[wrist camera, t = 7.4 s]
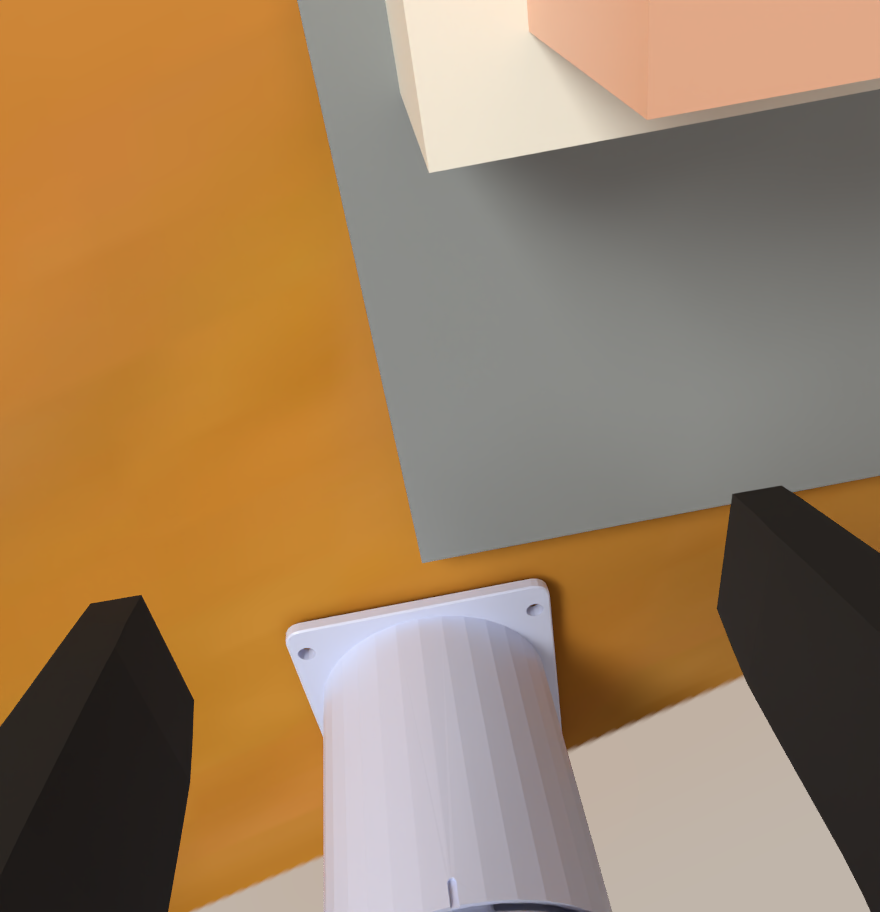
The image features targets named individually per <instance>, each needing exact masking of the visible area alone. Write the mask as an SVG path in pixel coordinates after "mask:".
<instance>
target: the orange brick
mask: <svg viewBox="0 0 880 912" xmlns="http://www.w3.org/2000/svg"><path fill="white" fill-rule="evenodd" d="M527 10H528V26H529V32H530V33H532V34H533V35H534V36H536V37H537V38H538V39H540V40H541V41H542V42H544V43H545V44H546V45H548V46H549V47H550V48H552V49H553V50H554V51H556V52H557V53H558V54H560V55H561V56H562V57H564V58H565V59H566V60H568V61H569V62H570V63H572V64H573V65H574V66H576V67H577V68H578V69H580V70H581V71H582V72H584V73H585V74H586V75H588V76H589V77H590V78H592V79H593V80H594V81H596V82H597V83H598V84H600V85H601V86H602V87H604V88H605V89H606V90H608V91H609V92H610V93H612V94H613V95H614V96H616V97H617V98H618V99H620V100H621V101H622V102H624V103H625V104H626V105H628V106H629V107H631V108H632V109H633V110H635V111H636V112H637V113H639V114H640V115H641V116H643V117H644V118H645V119H647V120H650V119H655V118H661V117H666V116H672V115H677V114H683V113H688V112H694V111H700V110H705V109H711V108H716V107H722V106H727V105H733V104H738V103H744V102H749V101H755V100H760V99H766V98H771V97H777V96H783V95H788V94H794V93H799V92H805V91H810V90H816V89H821V88H827V87H832V86H838V85H843V84H849V83H854V82H860V81H866V80H871V79H877V78H880V0H527Z"/></svg>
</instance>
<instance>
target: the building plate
mask: <svg viewBox="0 0 880 912" xmlns="http://www.w3.org/2000/svg"><path fill="white" fill-rule="evenodd" d="M297 1H298V6H299V10H300V15H301V19H302V24H303V28H304V33H305V37H306V42H307V46H308V51H309V55H310V60H311V64H312V69H313V73H314V78H315V82H316V87H317V91H318V96H319V100H320V105H321V109H322V114H323V118H324V123H325V127H326V132H327V136H328V141H329V145H330V150H331V154H332V159H333V163H334V168H335V172H336V177H337V181H338V186H339V190H340V195H341V199H342V204H343V208H344V213H345V217H346V222H347V226H348V231H349V235H350V240H351V244H352V249H353V253H354V258H355V262H356V267H357V271H358V276H359V280H360V285H361V289H362V294H363V298H364V303H365V307H366V312H367V316H368V321H369V325H370V330H371V334H372V339H373V343H374V348H375V352H376V357H377V361H378V366H379V370H380V375H381V379H382V384H383V388H384V393H385V397H386V402H387V406H388V411H389V415H390V420H391V424H392V429H393V433H394V438H395V442H396V447H397V451H398V456H399V460H400V465H401V469H402V474H403V478H404V483H405V487H406V492H407V496H408V501H409V505H410V510H411V514H412V519H413V523H414V528H415V532H416V537H417V541H418V546H419V550H420V555H421V559H422V563H425V562H430V561H436V560H441V559H446V558H451V557H456V556H462V555H467V554H472V553H477V552H483V551H488V550H493V549H498V548H504V547H509V546H514V545H519V544H524V543H530V542H535V541H540V540H545V539H551V538H556V537H561V536H566V535H571V534H577V533H582V532H587V531H592V530H598V529H603V528H608V527H613V526H619V525H624V524H629V523H634V522H639V521H645V520H650V519H655V518H660V517H666V516H671V515H676V514H681V513H687V512H692V511H697V510H702V509H707V508H713V507H718V506H723V505H728V504H731V500H732V494H734V493H740V492H746V491H752V490H758V489H763V488H769V487H775V486H781V485H782V486H783V487H785V488H786V489H788V490H789V491H791V492H796V491H802V490H807V489H812V488H817V487H823V486H828V485H833V484H838V483H843V482H849V481H854V480H859V479H864V478H870V477H875V476H880V89H877V90H872V91H867V92H861V93H856V94H851V95H845V96H840V97H834V98H829V99H824V100H818V101H813V102H808V103H802V104H797V105H792V106H786V107H781V108H775V109H770V110H765V111H759V112H754V113H749V114H743V115H738V116H733V117H727V118H722V119H716V120H711V121H706V122H700V123H695V124H690V125H684V126H679V127H674V128H668V129H663V130H657V131H652V132H647V133H641V134H636V135H631V136H625V137H620V138H615V139H609V140H604V141H598V142H593V143H588V144H582V145H577V146H572V147H566V148H561V149H556V150H550V151H545V152H539V153H534V154H529V155H523V156H518V157H513V158H507V159H502V160H497V161H491V162H486V163H480V164H475V165H470V166H464V167H459V168H454V169H448V170H443V171H437V172H432V173H429V171H428V169H427V166H426V163H425V160H424V158H423V155H422V152H421V149H420V146H419V144H418V141H417V138H416V135H415V133H414V130H413V127H412V124H411V121H410V119H409V116H408V113H407V110H406V108H405V105H404V102H403V99H402V97H401V94H400V89H399V83H398V77H397V70H396V64H395V58H394V52H393V46H392V40H391V34H390V28H389V22H388V16H387V9H386V3H385V0H297Z"/></svg>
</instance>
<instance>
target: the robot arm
mask: <svg viewBox="0 0 880 912" xmlns="http://www.w3.org/2000/svg"><path fill="white" fill-rule="evenodd" d="M533 604H537V605H535V606H530V605H533ZM717 610H718V613H719V615H720V618H721V620H722V623H723V625H724V628H725V631H726V633H727V636H728V638H729V641H730V643H731V646H732V648H733V651H734V653H735V656H736V658H737V660H738V663H739V665H740V668H741V670H742V672H743V675H744V677H745V679H746V682H747V684H748V686H749V687H750V689H751V691H752V693H753V695H754V697H755V699H756V701H757V702H758V704H759V706H760V708H761V709H762V711H763V713H764V715H765V717H766V719H767V720H768V722H769V724H770V726H771V727H772V730H773V731H774V733H775V735H776V737H777V739H778V740H779V742H780V744H781V746H782V747H783V749H784V751H785V753H786V755H787V756H788V758H789V760H790V762H791V764H792V765H793V767H794V769H795V771H796V772H797V774H798V776H799V778H800V779H801V781H802V783H803V785H804V787H805V788H806V790H807V792H808V794H809V795H810V797H811V799H812V801H813V803H814V804H815V806H816V808H817V810H818V812H819V813H820V815H821V817H822V819H823V820H824V822H825V824H826V826H827V828H828V829H829V831H830V833H831V835H832V837H833V838H834V840H835V842H836V844H837V845H838V847H839V849H840V851H841V853H842V854H843V856H844V858H845V860H846V862H847V864H848V866H849V868H850V870H851V872H852V874H853V876H854V878H855V880H856V882H857V884H858V886H859V888H860V890H861V891H862V894H863V896H864V898H865V900H866V902H867V904H868V907H869V909H870V911H871V912H880V553H879V552H877V551H876V550H874V549H873V548H871V547H870V546H869V545H867V544H866V543H864V542H863V541H861V540H860V539H858V538H857V537H856V536H854V535H853V534H851V533H850V532H848V531H847V530H846V529H844V528H843V527H841V526H840V525H838V524H837V523H836V522H834V521H833V520H831V519H830V518H828V517H827V516H826V515H824V514H823V513H821V512H820V511H818V510H817V509H816V508H814V507H813V506H811V505H810V504H808V503H807V502H805V501H804V500H803V499H801V498H800V497H798V496H797V495H795V494H794V493H792V492H791V491H789V490H788V489H786V488H785V487H783V486H782V485H781V486H775V487H769V488H763V489H758V490H752V491H746V492H740V493H734V494H732V500H731V508H730V515H729V523H728V530H727V537H726V545H725V552H724V560H723V567H722V575H721V582H720V590H719V597H718V605H717ZM286 646H287V648H288V651H289V653H290V656H291V658H292V661H293V663H294V666H295V668H296V671H297V673H298V676H299V678H300V681H301V683H302V686H303V688H304V690H305V693H306V695H307V698H308V700H309V703H310V705H311V708H312V710H313V713H314V715H315V718H316V720H317V723H318V725H319V728H320V730H321V733H322V735H323V749H324V912H612V910H611V906H610V903H609V899H608V895H607V892H606V888H605V885H604V881H603V878H602V874H601V870H600V867H599V863H598V860H597V856H596V852H595V849H594V845H593V842H592V838H591V835H590V831H589V828H588V824H587V821H586V817H585V814H584V810H583V806H582V803H581V799H580V795H579V792H578V788H577V785H576V781H575V778H574V774H573V770H572V767H571V763H570V760H569V756H568V753H567V749H566V745H565V742H564V738H563V735H562V726H561V715H560V704H559V693H558V681H557V670H556V659H555V648H554V637H553V625H552V614H551V603H550V594H549V591H548V587H547V585H546V583H545V582H544V581H543V580H540V579H526V580H521V581H516V582H510V583H505V584H500V585H495V586H489V587H484V588H479V589H474V590H469V591H463V592H458V593H453V594H448V595H443V596H437V597H432V598H427V599H422V600H416V601H411V602H406V603H401V604H396V605H390V606H385V607H380V608H375V609H369V610H364V611H359V612H354V613H349V614H343V615H338V616H333V617H328V618H323V619H317V620H312V621H307V622H302V623H298V624H295V625H292V626H291V627H290V628H288V630H287V632H286ZM304 648H311V649H304ZM193 711H194V699H193V697H192V695H191V693H190V691H189V689H188V687H187V685H186V683H185V681H184V679H183V677H182V675H181V673H180V671H179V669H178V667H177V665H176V663H175V661H174V659H173V657H172V655H171V653H170V651H169V649H168V647H167V645H166V643H165V641H164V639H163V637H162V635H161V633H160V631H159V629H158V627H157V625H156V623H155V621H154V619H153V617H152V615H151V613H150V611H149V609H148V607H147V605H146V603H145V601H144V599H143V597H142V595H139V596H133V597H127V598H121V599H115V600H109V601H104V602H98V603H92V604H90V605H89V607H88V608H87V609H86V611H85V612H84V613H83V614H82V616H81V617H80V618H79V620H78V621H77V623H76V624H75V625H74V627H73V628H72V629H71V631H70V632H69V633H68V635H67V636H66V637H65V639H64V640H63V642H62V643H61V644H60V646H59V647H58V648H57V650H56V651H55V653H54V654H53V655H52V657H51V658H50V659H49V661H48V662H47V664H46V665H45V666H44V668H43V669H42V671H41V672H40V673H39V675H38V676H37V677H36V679H35V680H34V682H33V683H32V684H31V686H30V687H29V688H28V690H27V691H26V693H25V694H24V695H23V697H22V698H21V699H20V701H19V702H18V704H17V705H16V706H15V708H14V709H13V710H12V712H11V713H10V714H9V716H8V717H7V718H6V720H5V721H4V722H3V724H2V725H1V726H0V912H168V908H169V903H170V897H171V891H172V886H173V880H174V874H175V869H176V863H177V857H178V851H179V846H180V840H181V834H182V828H183V822H184V816H185V810H186V804H187V798H188V791H189V785H190V774H191V758H192V739H193Z"/></svg>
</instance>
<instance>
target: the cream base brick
mask: <svg viewBox="0 0 880 912" xmlns="http://www.w3.org/2000/svg"><path fill="white" fill-rule="evenodd" d="M385 3H386V9H387V16H388V22H389V28H390V34H391V40H392V46H393V52H394V58H395V64H396V70H397V77H398V83H399V89H400V94H401V97H402V99H403V102H404V105H405V108H406V110H407V113H408V116H409V119H410V121H411V124H412V127H413V130H414V133H415V135H416V138H417V141H418V144H419V146H420V149H421V152H422V155H423V158H424V160H425V163H426V166H427V169H428V171H429V173H432V172H437V171H443V170H448V169H454V168H459V167H464V166H470V165H475V164H480V163H486V162H491V161H497V160H502V159H507V158H513V157H518V156H523V155H529V154H534V153H539V152H545V151H550V150H556V149H561V148H566V147H572V146H577V145H582V144H588V143H593V142H598V141H604V140H609V139H615V138H620V137H625V136H631V135H636V134H641V133H647V132H652V131H657V130H663V129H668V128H674V127H679V126H684V125H690V124H695V123H700V122H706V121H711V120H716V119H722V118H727V117H733V116H738V115H743V114H749V113H754V112H759V111H765V110H770V109H775V108H781V107H786V106H792V105H797V104H802V103H808V102H813V101H818V100H824V99H829V98H834V97H840V96H845V95H851V94H856V93H861V92H867V91H872V90H877V89H880V78H877V79H871V80H866V81H860V82H854V83H849V84H843V85H838V86H832V87H827V88H821V89H816V90H810V91H805V92H799V93H794V94H788V95H783V96H777V97H771V98H766V99H760V100H755V101H749V102H744V103H738V104H733V105H727V106H722V107H716V108H711V109H705V110H700V111H694V112H688V113H683V114H677V115H672V116H666V117H661V118H655V119H650V120H647V119H645V118H644V117H643V116H641V115H640V114H639V113H637V112H636V111H635V110H633V109H632V108H631V107H629V106H628V105H626V104H625V103H624V102H622V101H621V100H620V99H618V98H617V97H616V96H614V95H613V94H612V93H610V92H609V91H608V90H606V89H605V88H604V87H602V86H601V85H600V84H598V83H597V82H596V81H594V80H593V79H592V78H590V77H589V76H588V75H586V74H585V73H584V72H582V71H581V70H580V69H578V68H577V67H576V66H574V65H573V64H572V63H570V62H569V61H568V60H566V59H565V58H564V57H562V56H561V55H560V54H558V53H557V52H556V51H554V50H553V49H552V48H550V47H549V46H548V45H546V44H545V43H544V42H542V41H541V40H540V39H538V38H537V37H536V36H534V35H533V34H532V33H530V32H529V26H528V10H527V0H385Z"/></svg>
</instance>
